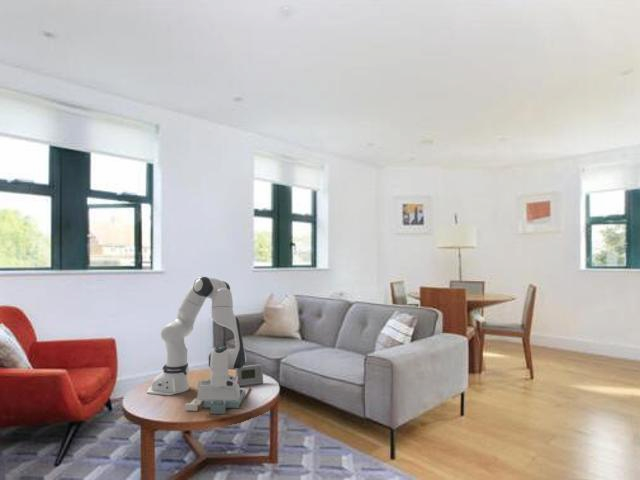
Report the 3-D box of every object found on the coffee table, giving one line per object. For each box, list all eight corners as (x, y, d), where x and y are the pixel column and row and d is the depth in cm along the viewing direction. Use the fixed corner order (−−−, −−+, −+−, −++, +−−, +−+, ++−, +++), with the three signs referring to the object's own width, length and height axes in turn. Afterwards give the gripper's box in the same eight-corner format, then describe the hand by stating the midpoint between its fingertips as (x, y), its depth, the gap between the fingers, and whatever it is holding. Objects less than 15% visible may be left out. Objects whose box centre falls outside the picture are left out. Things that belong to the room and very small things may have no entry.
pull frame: (199, 413, 181) (199, 405, 181) (213, 394, 206) (213, 386, 206) (235, 413, 181) (235, 405, 181) (245, 394, 206) (245, 387, 206)
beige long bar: (185, 410, 185) (185, 404, 185) (201, 391, 211) (201, 385, 211) (197, 410, 185) (197, 404, 185) (212, 391, 211) (212, 385, 211)
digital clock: (235, 387, 218) (235, 368, 218) (235, 382, 226) (236, 364, 227) (263, 385, 221) (263, 367, 221) (262, 380, 230) (263, 363, 230)
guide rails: (200, 409, 187) (200, 407, 187) (215, 388, 215) (215, 387, 215) (240, 409, 187) (240, 407, 187) (250, 389, 215) (250, 387, 215)
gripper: (196, 382, 181) (195, 411, 180) (238, 382, 181) (237, 411, 180) (200, 378, 187) (199, 406, 186) (241, 378, 187) (240, 406, 187)
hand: (218, 408), depth 183 cm, fingers closed on pull frame, 2 cm apart
